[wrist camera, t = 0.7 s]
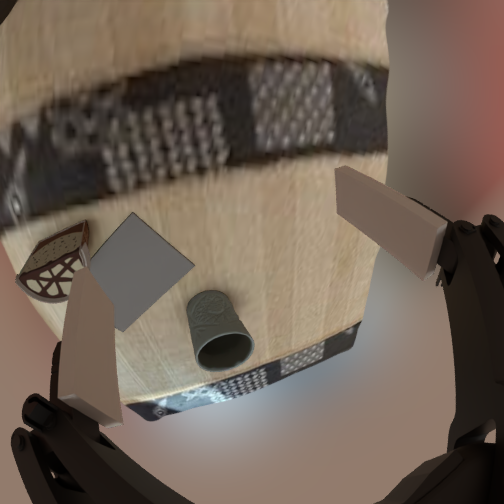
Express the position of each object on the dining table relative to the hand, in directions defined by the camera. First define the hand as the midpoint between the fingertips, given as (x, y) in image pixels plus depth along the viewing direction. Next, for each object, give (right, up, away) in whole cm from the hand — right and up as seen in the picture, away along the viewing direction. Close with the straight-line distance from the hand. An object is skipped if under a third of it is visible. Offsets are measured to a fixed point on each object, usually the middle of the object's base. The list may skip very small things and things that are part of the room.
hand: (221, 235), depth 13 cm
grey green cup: (-7, -11, +39) cm, 41 cm away
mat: (-20, -5, +29) cm, 35 cm away
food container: (-27, 0, +22) cm, 35 cm away
